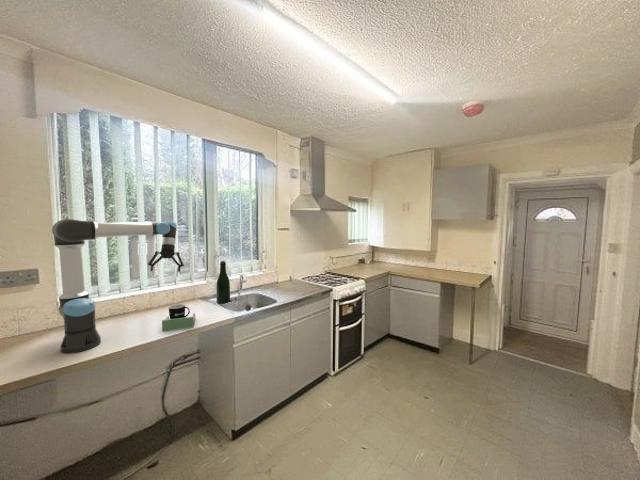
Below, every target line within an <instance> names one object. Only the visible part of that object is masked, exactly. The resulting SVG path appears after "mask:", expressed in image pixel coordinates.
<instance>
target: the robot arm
mask: <svg viewBox="0 0 640 480" xmlns="http://www.w3.org/2000/svg"><path fill="white" fill-rule="evenodd" d="M177 227H178V225H177V222H175V221H172V220H171V221H170V220H165V221H150V220H144V221H143V222H141V221H139V222H137V221H136V222H134V221H133V222H95V221H94V220H79V219H71V218H66V219H61V220H59V221H57V222H55V223H54V224H53V226H52V228H51V229H52V230H51V232H52V234H53V241H54V247H56V248H58V250H59V262H60V264H59V265H60V275H61V286H62V287H61V288H62V294H61V295H60V296H59V297H58V300H59V305H58V313H59V315H60V316H61V317H62V319H63V326H64V327H63V329H64V336H63V337H62V338H63V339H62V342H61V344H60V352H61V353H63V354H73V353H74V354H75V353H80V352H85V351H87V350H91V349H93V348H95V347H97V346H99V345H100V344H101V342H102V341H101V340H102V339H101V336H100V333H99V332H98V330H97V327H96V325H97V324H96V304H95V300H94V299H92V298H90V295H89V292H88V291H86V290H85V277H84V276H85V275H84V265H83V264H84V261H83V251H82V250H83V249H82V248H83V247H84V245H85V244H86V241H88V240H89V241H91V240H96V239H98V238H109V237H110V238H113V237H115V238H116V237H130V236H150V235H151V236H152V235H154V236H155V235H161V236H162V240H161V250H160V251H157V250H156V251H154V254H153V256H152V258H150V259H149V260H150V261H148V263H147V265H148V266H150V272H152V273H151V277H155V271H156V264H158V263H159V262H160V261H162V260H163V259H166V260H167V259H168V260H170V259H172V261H173V262H174V263H175V264H176V266H177V267H176V273H175V274H176V275H175V278H178V277H179V273H180V272H181V269H182V267H184V266H185V265H184V263H183V261H182V258H181V256H180V252H179V251H177V252H175V250H176V249H175V248H176V247H175V244H176V237H177V236H176V235H177ZM158 255H160V256H159V257H158ZM174 256H177V258H178V260H177V259H176V258H175V257H174ZM157 257H158V258H157ZM156 258H157V259H156ZM155 259H156V260H155ZM178 261H179V262H178Z"/></svg>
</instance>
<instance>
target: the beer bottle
mask: <svg viewBox="0 0 640 480" xmlns="http://www.w3.org/2000/svg"><path fill="white" fill-rule="evenodd" d="M226 266H227V263H226V261H225V260H220V262H219V275H218V277H217V279H216V290H215V291H216V293H215V295H216V303H218V304H226V303H229V302H230V301H231V283H230V278H229V276H228V273H227V267H226Z"/></svg>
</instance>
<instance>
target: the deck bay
mask: <svg viewBox="0 0 640 480" xmlns="http://www.w3.org/2000/svg"><path fill="white" fill-rule="evenodd" d="M195 320H196V313H192V316H187V317H185V318H176V319H170V316H169V315H168V316H166V317H165V319H162V320H161V331H162V332H166V331H174V330H182V329H183V330H184V329H190V328H194V326H195Z"/></svg>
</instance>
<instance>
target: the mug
mask: <svg viewBox="0 0 640 480" xmlns="http://www.w3.org/2000/svg"><path fill="white" fill-rule="evenodd" d="M186 309H187V310H188V311H187V314H186ZM190 313H191V310H190V308H189V307H187V306H186V305H185V304H183V303H180V304H179V303H178V304H173V305H170V306H169V307H168V316H169V319H176V318H185V317H189V315H190Z"/></svg>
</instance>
